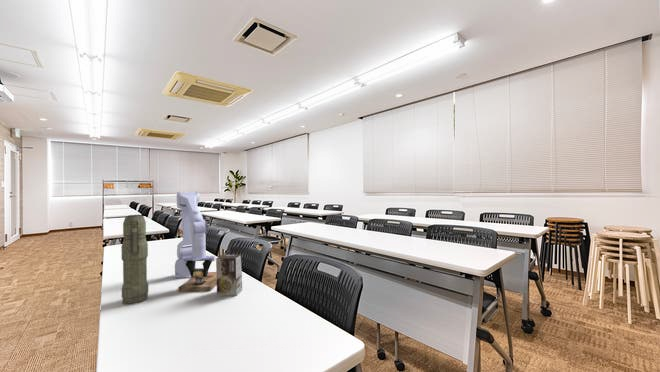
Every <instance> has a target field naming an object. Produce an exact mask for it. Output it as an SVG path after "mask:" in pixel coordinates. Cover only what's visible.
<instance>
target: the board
mask: <svg viewBox="0 0 660 372" xmlns="http://www.w3.org/2000/svg"><path fill="white" fill-rule="evenodd" d="M215 287H217V274H216V271H208V274H207V276H206V277H204V284H203V285H195V278H193V277H192V278H189V279H188V280H186V281H185V282H184V283H182V284H180V285H179V286H178V287H177V290H178V293H179V292H181V293H185V292H211V291H212V290H213V289H214V288H215Z"/></svg>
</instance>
